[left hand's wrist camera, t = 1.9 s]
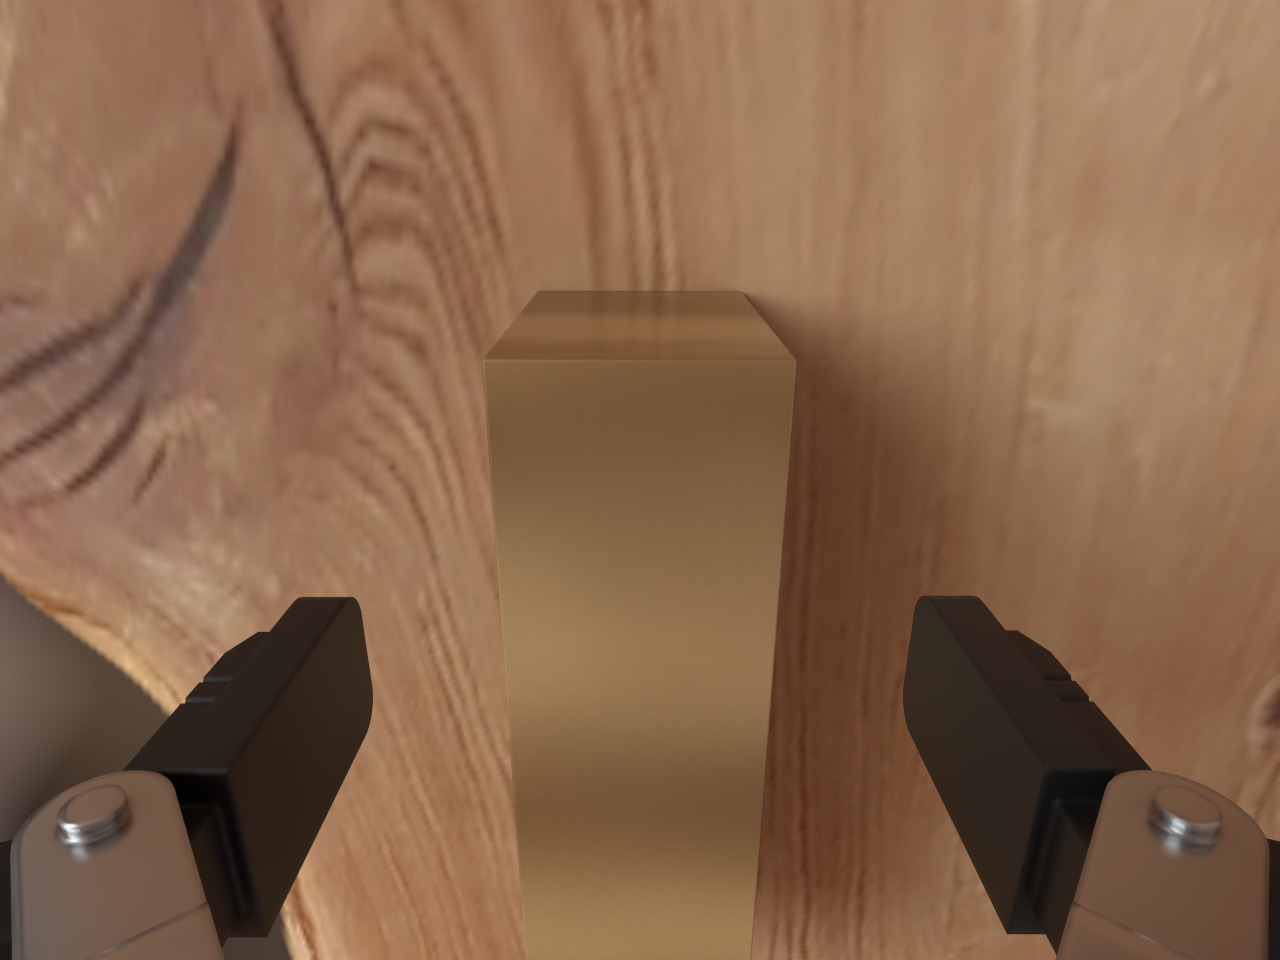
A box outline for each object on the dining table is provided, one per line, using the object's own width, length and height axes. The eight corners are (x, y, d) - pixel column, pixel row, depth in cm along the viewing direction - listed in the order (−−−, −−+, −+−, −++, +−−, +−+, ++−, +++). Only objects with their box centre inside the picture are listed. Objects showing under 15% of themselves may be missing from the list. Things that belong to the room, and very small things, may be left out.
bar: (537, 290, 23) (481, 359, 15) (741, 291, 23) (798, 359, 15) (563, 857, 31) (535, 1104, 23) (713, 858, 31) (740, 1104, 23)
